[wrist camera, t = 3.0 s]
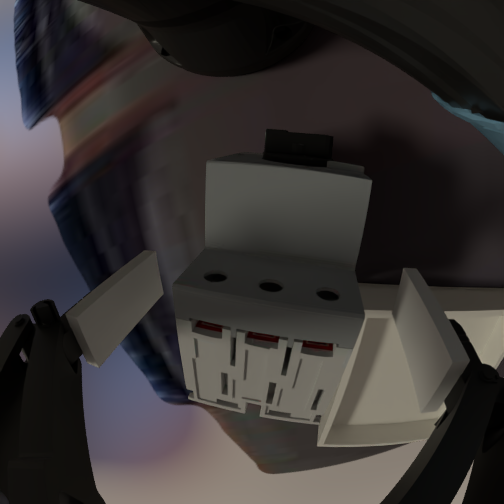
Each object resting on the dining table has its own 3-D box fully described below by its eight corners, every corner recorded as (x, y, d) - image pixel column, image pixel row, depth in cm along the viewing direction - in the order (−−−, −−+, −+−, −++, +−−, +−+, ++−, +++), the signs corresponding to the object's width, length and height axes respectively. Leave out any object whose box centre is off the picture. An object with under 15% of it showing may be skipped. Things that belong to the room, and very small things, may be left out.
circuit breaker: (346, 140, 20) (404, 144, 7) (321, 291, 26) (317, 426, 13) (256, 130, 21) (167, 122, 8) (247, 280, 27) (189, 401, 14)
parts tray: (354, 282, 25) (359, 309, 21) (510, 288, 20) (528, 308, 16) (319, 422, 35) (317, 446, 31) (438, 416, 31) (443, 436, 27)
